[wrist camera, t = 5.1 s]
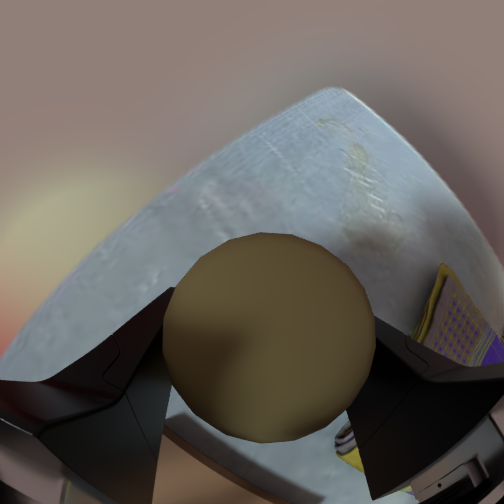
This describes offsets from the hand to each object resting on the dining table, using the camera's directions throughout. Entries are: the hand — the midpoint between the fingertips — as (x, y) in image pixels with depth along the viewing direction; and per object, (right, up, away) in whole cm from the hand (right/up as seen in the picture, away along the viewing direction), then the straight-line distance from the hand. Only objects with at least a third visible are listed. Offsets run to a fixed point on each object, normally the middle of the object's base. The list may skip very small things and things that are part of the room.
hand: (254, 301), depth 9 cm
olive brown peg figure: (-1, -4, +6) cm, 7 cm away
